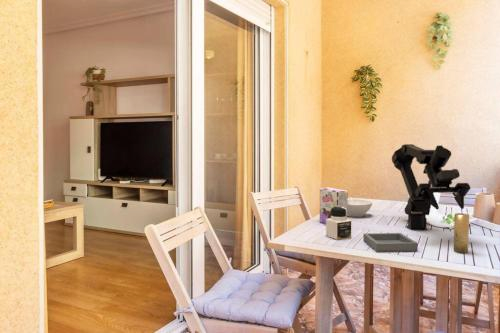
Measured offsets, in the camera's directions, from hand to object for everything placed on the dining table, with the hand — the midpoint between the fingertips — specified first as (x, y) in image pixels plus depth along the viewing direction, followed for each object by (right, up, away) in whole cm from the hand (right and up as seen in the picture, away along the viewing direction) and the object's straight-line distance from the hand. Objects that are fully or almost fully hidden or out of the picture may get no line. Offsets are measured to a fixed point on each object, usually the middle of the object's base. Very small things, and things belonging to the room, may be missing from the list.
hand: (450, 208), depth 141 cm
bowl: (-19, -10, +56) cm, 60 cm away
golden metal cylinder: (0, -14, -6) cm, 16 cm away
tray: (-22, -14, +1) cm, 26 cm away
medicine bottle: (-37, -13, +15) cm, 42 cm away
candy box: (-35, -11, +37) cm, 52 cm away
